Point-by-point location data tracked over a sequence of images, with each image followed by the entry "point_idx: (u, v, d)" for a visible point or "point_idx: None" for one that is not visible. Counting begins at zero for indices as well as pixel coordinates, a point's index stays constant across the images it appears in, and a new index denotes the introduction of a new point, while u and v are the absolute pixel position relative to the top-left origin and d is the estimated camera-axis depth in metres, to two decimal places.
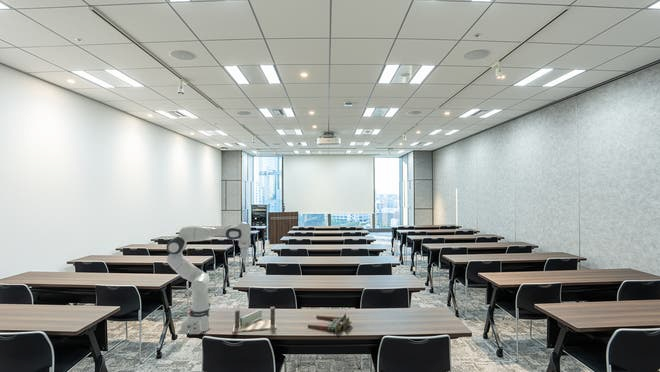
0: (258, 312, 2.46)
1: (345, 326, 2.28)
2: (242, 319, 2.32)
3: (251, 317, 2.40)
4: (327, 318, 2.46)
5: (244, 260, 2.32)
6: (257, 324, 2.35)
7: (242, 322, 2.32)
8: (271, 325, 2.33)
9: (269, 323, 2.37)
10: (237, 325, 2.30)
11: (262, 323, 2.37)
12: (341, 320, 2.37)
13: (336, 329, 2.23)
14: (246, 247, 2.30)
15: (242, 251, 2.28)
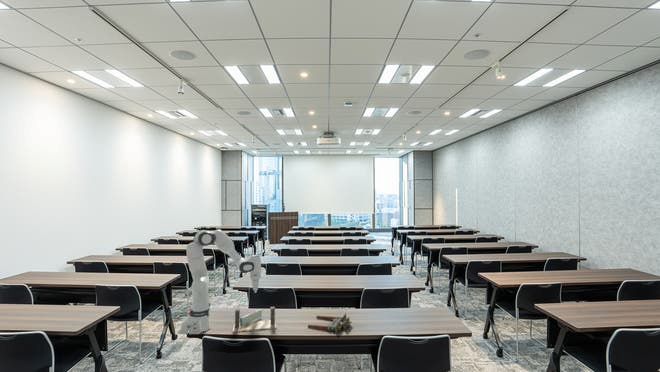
0: (258, 312, 2.46)
1: (345, 326, 2.28)
2: (242, 319, 2.32)
3: (251, 317, 2.40)
4: (327, 318, 2.46)
5: (255, 290, 2.51)
6: (257, 324, 2.35)
7: (242, 322, 2.32)
8: (271, 325, 2.33)
9: (269, 323, 2.37)
10: (237, 325, 2.30)
11: (262, 323, 2.37)
12: (341, 320, 2.37)
13: (336, 329, 2.23)
14: (257, 279, 2.45)
15: (253, 283, 2.43)
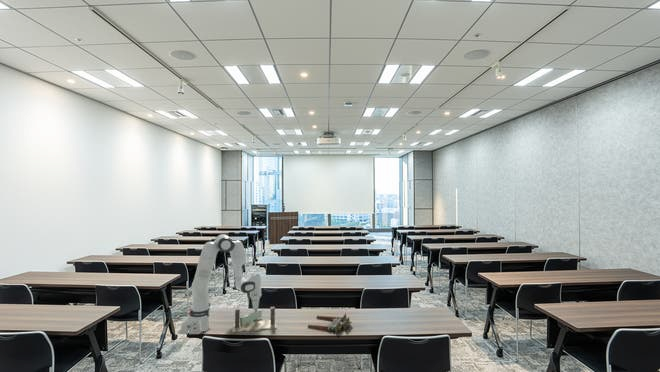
0: (258, 312, 2.46)
1: (345, 326, 2.28)
2: (242, 319, 2.32)
3: (251, 317, 2.40)
4: (327, 318, 2.46)
5: None
6: (257, 324, 2.35)
7: (242, 322, 2.32)
8: (271, 325, 2.33)
9: (269, 323, 2.37)
10: (237, 325, 2.30)
11: (262, 323, 2.37)
12: (341, 320, 2.37)
13: (336, 329, 2.23)
14: (257, 299, 2.43)
15: (254, 303, 2.41)
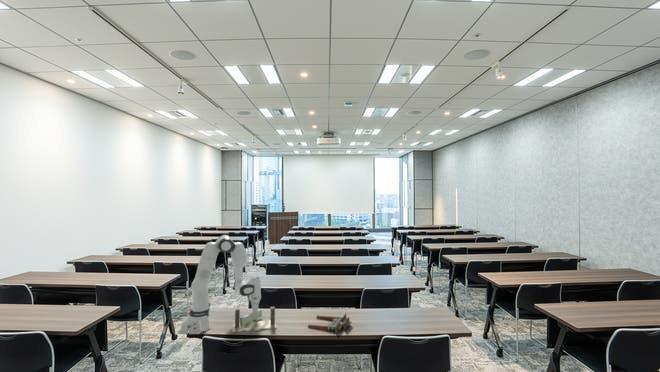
0: (258, 312, 2.46)
1: (345, 326, 2.28)
2: (242, 319, 2.32)
3: (251, 317, 2.40)
4: (327, 318, 2.46)
5: None
6: (257, 324, 2.35)
7: (242, 322, 2.32)
8: (271, 325, 2.33)
9: (269, 323, 2.37)
10: (237, 325, 2.30)
11: (262, 323, 2.37)
12: (341, 320, 2.37)
13: (336, 329, 2.23)
14: (257, 302, 2.40)
15: (253, 306, 2.38)
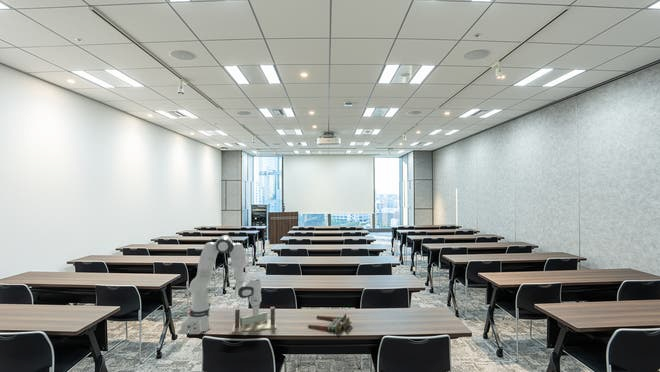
0: (263, 314, 2.41)
1: (345, 326, 2.28)
2: (242, 319, 2.32)
3: (253, 319, 2.37)
4: (327, 318, 2.46)
5: None
6: (257, 324, 2.35)
7: (242, 322, 2.32)
8: (271, 325, 2.33)
9: (269, 323, 2.37)
10: (237, 325, 2.30)
11: (262, 323, 2.37)
12: (341, 320, 2.37)
13: (336, 329, 2.23)
14: (257, 305, 2.34)
15: (254, 309, 2.32)
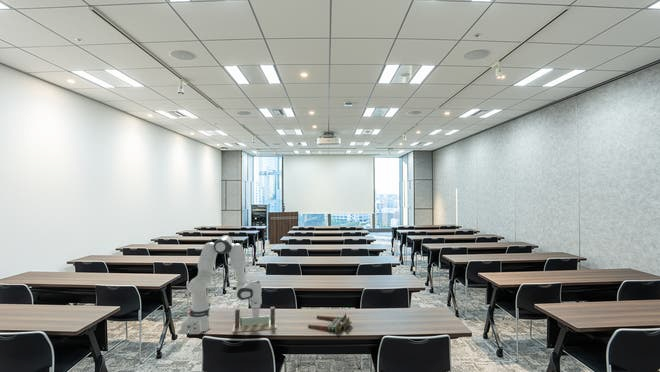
0: (264, 318, 2.35)
1: (345, 326, 2.28)
2: (242, 319, 2.31)
3: (254, 321, 2.33)
4: (327, 318, 2.46)
5: None
6: None
7: (242, 322, 2.31)
8: (271, 325, 2.33)
9: (269, 323, 2.37)
10: (237, 325, 2.30)
11: None
12: (341, 320, 2.37)
13: (336, 329, 2.23)
14: (258, 307, 2.29)
15: (254, 312, 2.27)
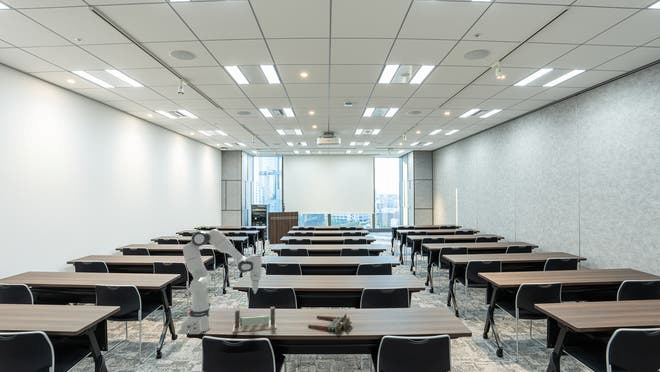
0: (264, 318, 2.35)
1: (345, 326, 2.28)
2: (242, 319, 2.31)
3: (254, 321, 2.33)
4: (327, 318, 2.46)
5: (255, 290, 2.43)
6: None
7: (242, 322, 2.31)
8: (271, 325, 2.33)
9: (269, 323, 2.37)
10: (237, 325, 2.30)
11: None
12: (341, 320, 2.37)
13: (336, 329, 2.23)
14: (257, 280, 2.37)
15: (253, 284, 2.35)
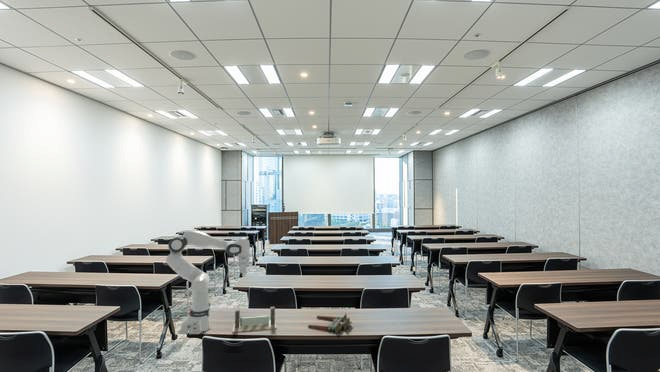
0: (264, 318, 2.35)
1: (345, 326, 2.28)
2: (242, 319, 2.31)
3: (254, 321, 2.33)
4: (327, 318, 2.46)
5: (243, 273, 2.45)
6: None
7: (242, 322, 2.31)
8: (271, 325, 2.33)
9: (269, 323, 2.37)
10: (237, 325, 2.30)
11: None
12: (341, 320, 2.37)
13: (336, 329, 2.23)
14: (245, 262, 2.39)
15: (241, 266, 2.38)
